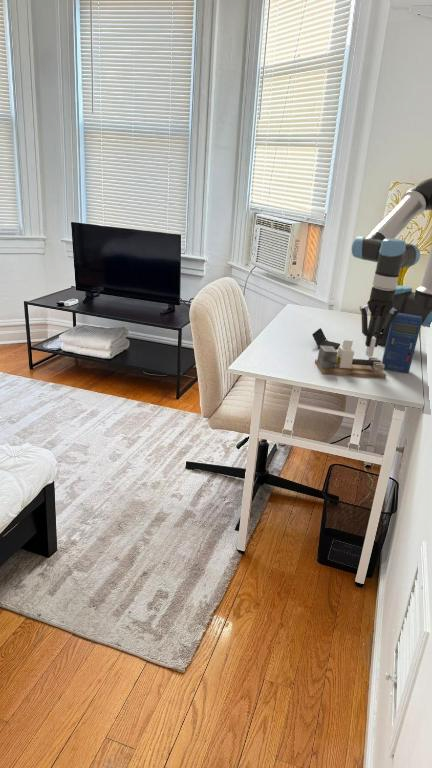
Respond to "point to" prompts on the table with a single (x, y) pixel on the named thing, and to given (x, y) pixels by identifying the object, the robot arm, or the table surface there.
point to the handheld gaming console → (323, 339)
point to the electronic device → (401, 342)
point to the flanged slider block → (345, 354)
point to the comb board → (359, 367)
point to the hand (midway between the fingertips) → (368, 355)
